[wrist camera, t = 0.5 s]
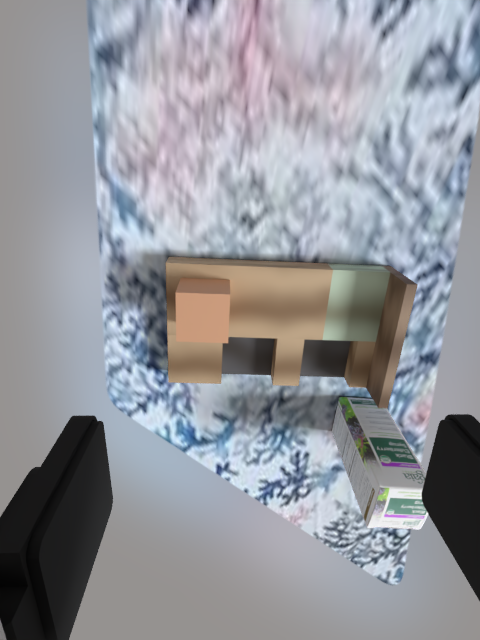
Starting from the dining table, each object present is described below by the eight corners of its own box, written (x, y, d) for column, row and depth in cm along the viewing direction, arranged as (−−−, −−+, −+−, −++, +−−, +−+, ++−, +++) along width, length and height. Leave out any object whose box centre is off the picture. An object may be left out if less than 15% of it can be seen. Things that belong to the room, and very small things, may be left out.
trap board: (169, 256, 41) (159, 274, 35) (390, 266, 42) (417, 284, 36) (171, 371, 47) (163, 402, 41) (367, 376, 48) (387, 408, 42)
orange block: (180, 277, 40) (175, 292, 35) (229, 279, 40) (230, 294, 36) (181, 322, 41) (176, 341, 37) (228, 324, 42) (228, 343, 38)
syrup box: (382, 397, 49) (440, 488, 36) (372, 435, 52) (422, 533, 38) (338, 395, 49) (380, 486, 36) (330, 432, 51) (366, 531, 38)
